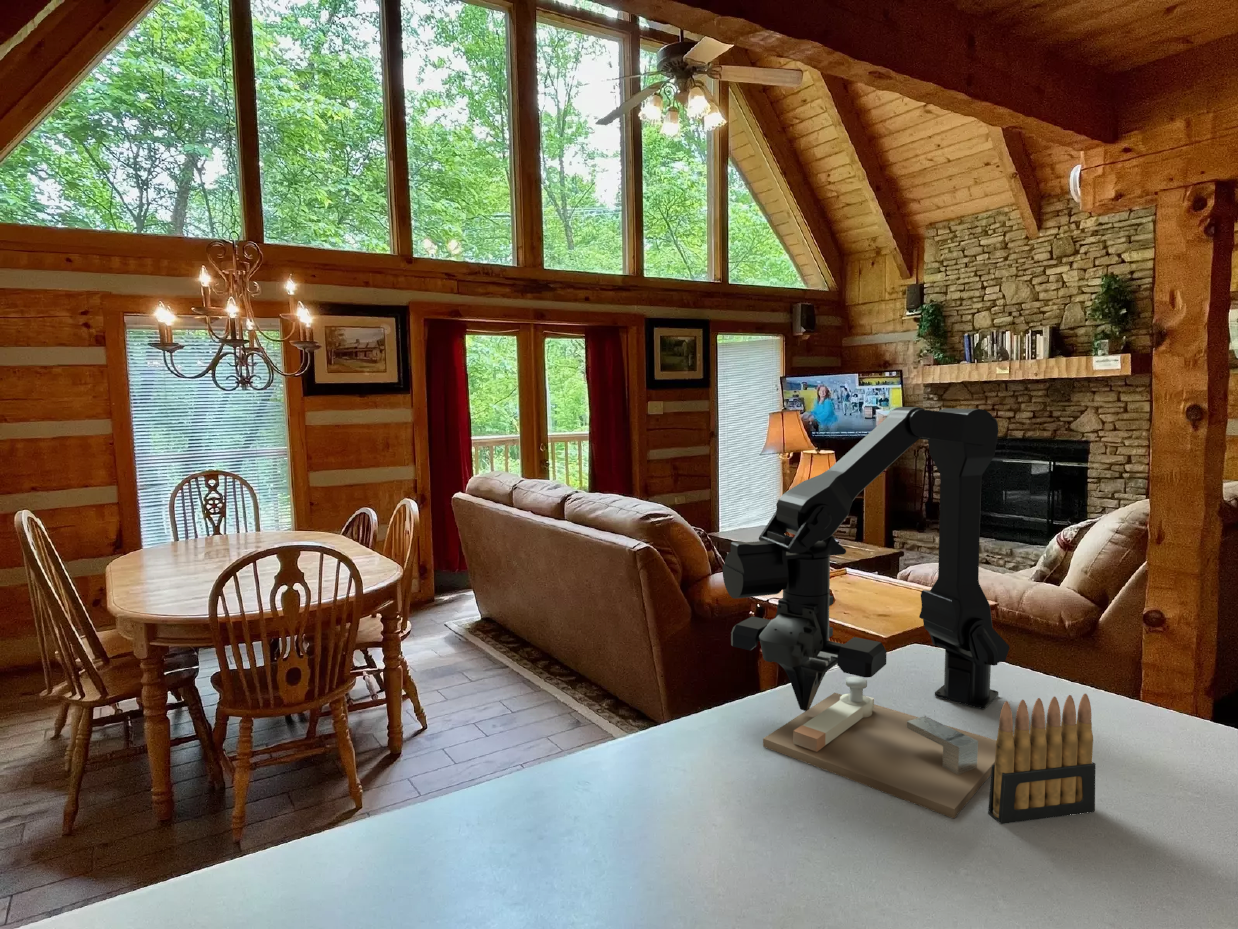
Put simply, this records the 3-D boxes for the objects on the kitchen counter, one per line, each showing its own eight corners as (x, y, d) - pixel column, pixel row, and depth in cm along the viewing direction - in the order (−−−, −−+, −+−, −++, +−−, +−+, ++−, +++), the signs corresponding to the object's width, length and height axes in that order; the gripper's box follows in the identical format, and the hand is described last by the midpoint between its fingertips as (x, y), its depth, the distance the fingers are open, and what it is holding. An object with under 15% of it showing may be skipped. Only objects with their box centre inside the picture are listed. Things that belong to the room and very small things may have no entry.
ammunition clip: (1080, 802, 74) (1086, 689, 73) (1095, 812, 72) (1101, 696, 71) (987, 813, 72) (991, 698, 71) (1000, 824, 70) (1004, 706, 69)
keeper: (924, 741, 85) (925, 715, 85) (977, 768, 79) (978, 741, 79) (906, 746, 84) (906, 721, 84) (958, 774, 78) (959, 747, 77)
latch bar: (848, 702, 96) (849, 672, 96) (877, 711, 93) (878, 679, 93) (789, 742, 85) (789, 708, 85) (820, 753, 82) (821, 718, 82)
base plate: (834, 699, 100) (834, 692, 99) (1009, 752, 84) (1009, 744, 84) (763, 746, 87) (763, 738, 86) (954, 818, 71) (954, 809, 71)
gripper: (708, 592, 91) (709, 712, 92) (854, 620, 79) (852, 756, 80) (751, 574, 99) (751, 684, 101) (889, 597, 88) (886, 720, 89)
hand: (804, 709), depth 92 cm, fingers closed
